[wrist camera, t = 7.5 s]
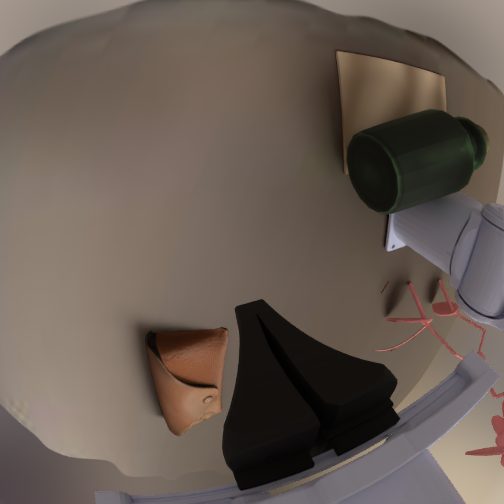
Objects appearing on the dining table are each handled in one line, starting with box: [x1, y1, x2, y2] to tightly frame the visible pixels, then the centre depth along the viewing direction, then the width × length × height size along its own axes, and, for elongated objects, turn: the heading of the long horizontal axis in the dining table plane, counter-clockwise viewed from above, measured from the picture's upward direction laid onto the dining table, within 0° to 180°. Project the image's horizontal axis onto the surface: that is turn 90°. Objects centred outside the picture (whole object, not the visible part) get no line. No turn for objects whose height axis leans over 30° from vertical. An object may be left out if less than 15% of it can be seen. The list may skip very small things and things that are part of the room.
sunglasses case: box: [145, 327, 228, 436], centre depth 28 cm, size 18×7×7 cm
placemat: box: [336, 51, 446, 174], centre depth 21 cm, size 16×11×1 cm
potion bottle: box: [346, 109, 489, 214], centre depth 19 cm, size 8×8×18 cm
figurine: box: [376, 279, 504, 466], centre depth 23 cm, size 15×26×35 cm, turn 79°
